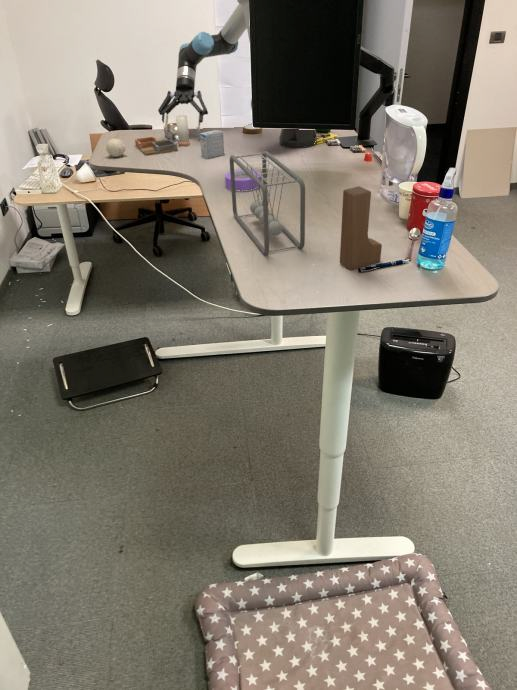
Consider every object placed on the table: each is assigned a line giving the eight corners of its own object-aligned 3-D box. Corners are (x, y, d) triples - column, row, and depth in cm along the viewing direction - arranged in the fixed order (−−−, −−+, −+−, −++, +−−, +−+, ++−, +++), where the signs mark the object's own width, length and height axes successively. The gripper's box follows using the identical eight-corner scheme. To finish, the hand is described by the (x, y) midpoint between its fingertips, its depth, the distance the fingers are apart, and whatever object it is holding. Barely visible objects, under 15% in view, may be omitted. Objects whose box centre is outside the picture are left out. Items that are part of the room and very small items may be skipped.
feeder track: (186, 140, 229) (185, 126, 226) (172, 142, 227) (170, 128, 224) (179, 134, 238) (177, 121, 235) (165, 136, 236) (163, 123, 233)
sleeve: (191, 145, 222) (188, 117, 216) (180, 147, 221) (177, 118, 214) (188, 143, 226) (185, 114, 219) (177, 144, 224) (173, 116, 218)
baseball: (123, 159, 210) (120, 141, 206) (105, 159, 211) (102, 141, 207) (129, 154, 215) (126, 136, 211) (111, 154, 216) (108, 136, 212)
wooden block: (369, 254, 133) (375, 181, 123) (380, 261, 130) (388, 187, 119) (338, 263, 129) (342, 189, 119) (350, 270, 126) (355, 195, 116)
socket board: (177, 150, 216) (176, 144, 215) (145, 155, 212) (144, 148, 211) (166, 141, 229) (165, 134, 228) (135, 145, 225) (134, 139, 224)
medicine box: (218, 152, 212) (216, 129, 207) (224, 155, 209) (223, 131, 204) (201, 156, 208) (199, 133, 203) (207, 159, 205) (205, 135, 200)
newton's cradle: (232, 216, 157) (228, 153, 147) (267, 210, 160) (265, 148, 149) (265, 258, 134) (263, 187, 123) (305, 251, 136) (306, 180, 126)
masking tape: (255, 178, 185) (254, 167, 183) (265, 189, 176) (265, 177, 174) (221, 183, 182) (220, 171, 180) (231, 194, 173) (230, 182, 171)
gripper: (217, 87, 226) (213, 134, 222) (158, 88, 229) (154, 134, 225) (213, 75, 218) (209, 123, 215) (153, 76, 221) (148, 124, 218)
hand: (181, 129), depth 220 cm, fingers open, 13 cm apart
